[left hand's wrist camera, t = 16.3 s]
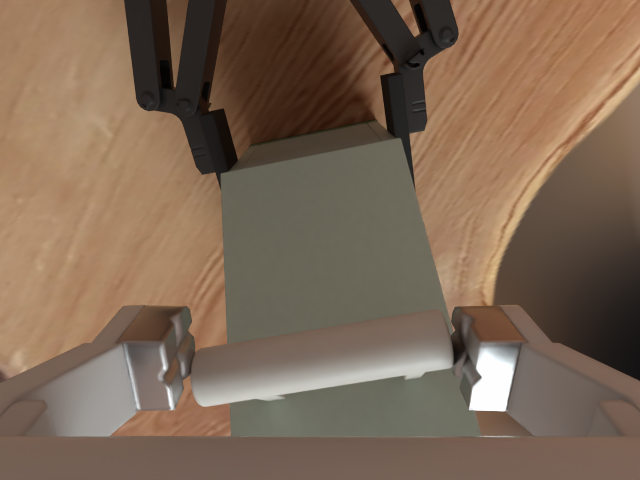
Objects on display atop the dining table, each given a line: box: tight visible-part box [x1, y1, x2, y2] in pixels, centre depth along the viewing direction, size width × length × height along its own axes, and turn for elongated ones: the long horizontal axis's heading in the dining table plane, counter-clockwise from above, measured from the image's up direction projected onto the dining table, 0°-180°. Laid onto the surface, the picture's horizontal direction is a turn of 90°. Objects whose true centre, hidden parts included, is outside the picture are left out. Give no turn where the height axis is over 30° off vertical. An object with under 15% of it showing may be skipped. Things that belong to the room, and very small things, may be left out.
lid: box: [190, 138, 481, 436], centre depth 15 cm, size 14×9×8 cm
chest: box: [229, 120, 396, 172], centre depth 28 cm, size 14×9×9 cm
